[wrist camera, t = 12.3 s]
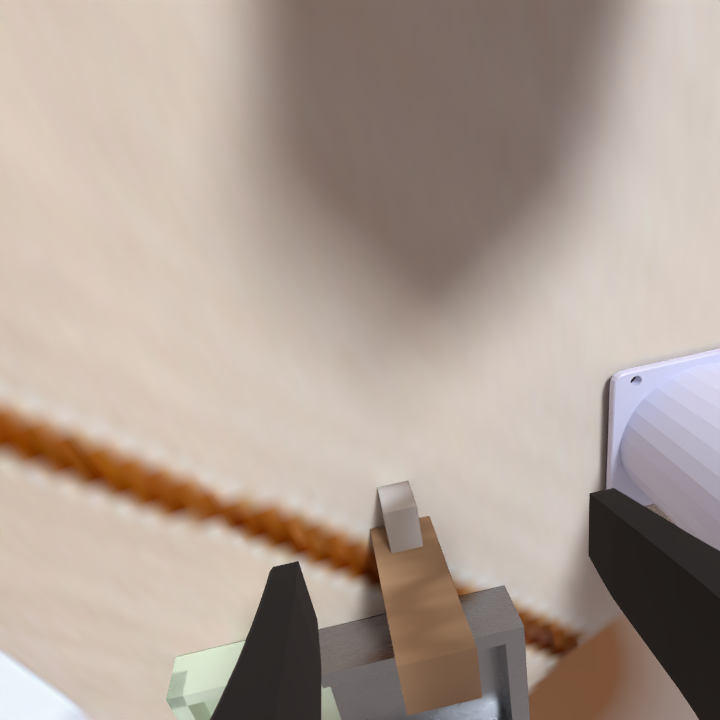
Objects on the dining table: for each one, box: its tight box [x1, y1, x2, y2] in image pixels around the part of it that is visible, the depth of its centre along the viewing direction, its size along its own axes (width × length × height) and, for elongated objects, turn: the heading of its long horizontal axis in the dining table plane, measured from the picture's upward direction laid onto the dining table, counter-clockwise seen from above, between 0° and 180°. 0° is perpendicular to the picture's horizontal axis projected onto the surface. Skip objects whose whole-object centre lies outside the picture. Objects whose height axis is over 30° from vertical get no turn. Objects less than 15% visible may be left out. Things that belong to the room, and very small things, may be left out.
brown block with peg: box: [370, 481, 482, 716], centre depth 22 cm, size 3×8×7 cm, turn 10°
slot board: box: [318, 586, 530, 720], centre depth 28 cm, size 10×11×2 cm
